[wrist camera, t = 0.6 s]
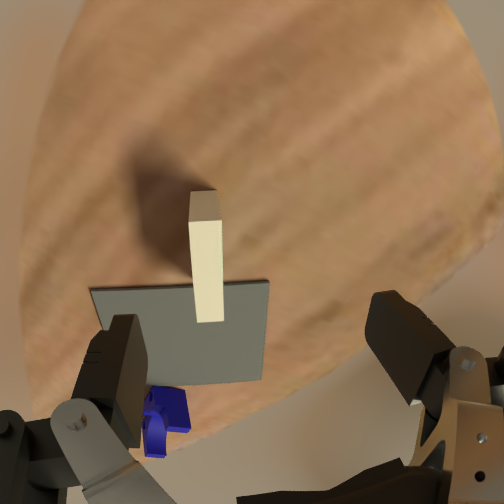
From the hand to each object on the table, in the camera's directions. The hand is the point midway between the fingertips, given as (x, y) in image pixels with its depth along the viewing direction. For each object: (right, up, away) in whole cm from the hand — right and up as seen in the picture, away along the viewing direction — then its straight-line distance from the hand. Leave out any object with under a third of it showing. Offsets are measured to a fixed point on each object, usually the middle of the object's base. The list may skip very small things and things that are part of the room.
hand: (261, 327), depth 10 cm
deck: (-4, +4, +18) cm, 19 cm away
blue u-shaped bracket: (-14, -20, +30) cm, 39 cm away
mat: (-8, -8, +24) cm, 26 cm away
